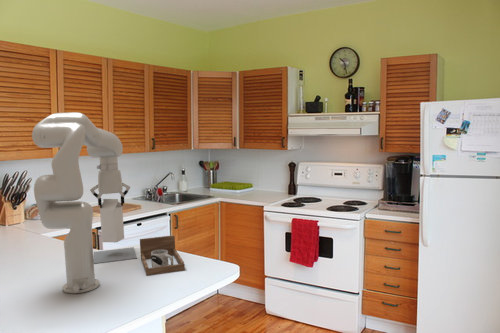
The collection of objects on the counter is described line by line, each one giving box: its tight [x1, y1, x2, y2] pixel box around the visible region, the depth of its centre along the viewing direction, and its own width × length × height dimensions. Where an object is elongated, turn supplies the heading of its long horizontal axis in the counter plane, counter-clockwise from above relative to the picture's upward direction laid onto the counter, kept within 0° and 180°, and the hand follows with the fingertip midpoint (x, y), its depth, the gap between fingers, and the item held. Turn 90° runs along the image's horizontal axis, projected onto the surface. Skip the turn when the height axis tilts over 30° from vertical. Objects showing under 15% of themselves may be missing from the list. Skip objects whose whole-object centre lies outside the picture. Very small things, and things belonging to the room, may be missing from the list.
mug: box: [151, 250, 174, 268], centre depth 177 cm, size 10×7×7 cm
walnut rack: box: [139, 234, 186, 276], centre depth 182 cm, size 22×15×9 cm, turn 19°
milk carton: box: [99, 198, 125, 243], centre depth 195 cm, size 7×7×19 cm
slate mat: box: [93, 246, 138, 265], centre depth 197 cm, size 18×18×1 cm
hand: (111, 206), depth 195 cm, fingers closed on milk carton, 8 cm apart
